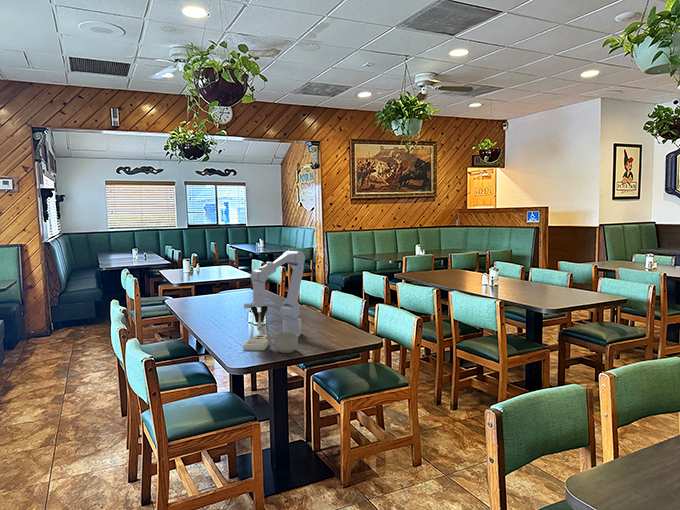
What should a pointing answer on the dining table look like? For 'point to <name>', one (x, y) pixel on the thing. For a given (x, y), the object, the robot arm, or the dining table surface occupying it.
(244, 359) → the dining table surface
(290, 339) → the teacup
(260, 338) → the beige square frame
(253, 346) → the tray
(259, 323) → the pin
